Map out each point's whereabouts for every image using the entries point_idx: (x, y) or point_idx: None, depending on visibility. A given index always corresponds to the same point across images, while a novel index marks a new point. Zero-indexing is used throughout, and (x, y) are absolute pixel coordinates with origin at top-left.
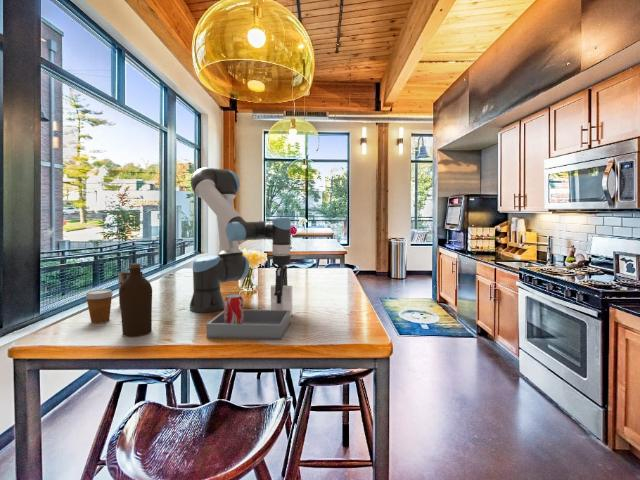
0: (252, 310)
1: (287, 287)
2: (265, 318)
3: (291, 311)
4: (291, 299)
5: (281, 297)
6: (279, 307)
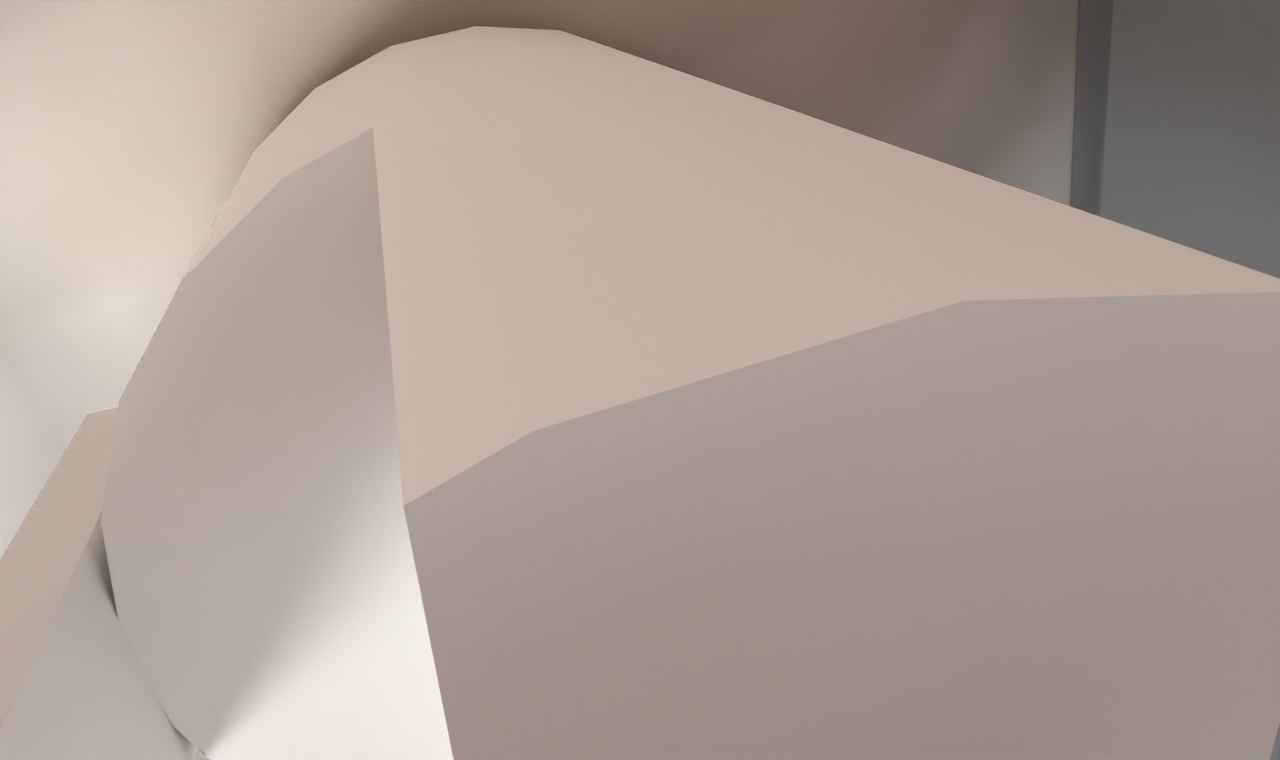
0: (1276, 747)
1: (1255, 630)
2: None
3: (537, 35)
4: (647, 84)
5: None
6: None
